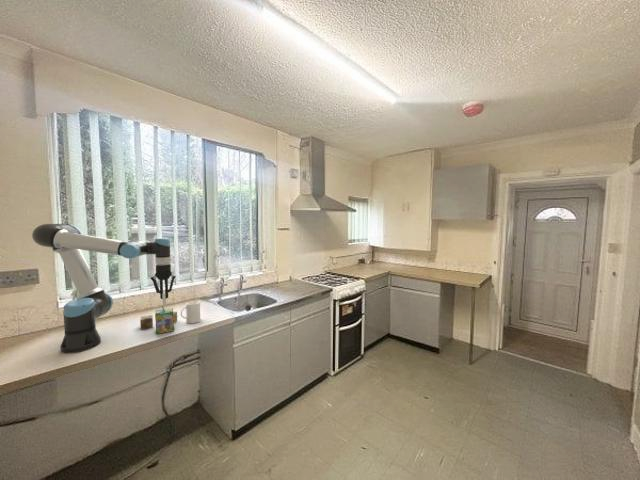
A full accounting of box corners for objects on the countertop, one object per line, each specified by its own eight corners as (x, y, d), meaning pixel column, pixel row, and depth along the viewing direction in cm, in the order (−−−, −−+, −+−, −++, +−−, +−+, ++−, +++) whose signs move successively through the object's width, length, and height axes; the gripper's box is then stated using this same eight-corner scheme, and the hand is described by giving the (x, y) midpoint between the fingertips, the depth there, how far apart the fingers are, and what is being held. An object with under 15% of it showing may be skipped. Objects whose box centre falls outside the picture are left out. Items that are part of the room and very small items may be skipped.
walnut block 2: (162, 324, 162) (162, 314, 162) (167, 321, 168) (167, 311, 168) (173, 324, 163) (172, 314, 162) (177, 320, 169) (176, 311, 168)
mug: (182, 326, 160) (182, 306, 159) (178, 322, 166) (178, 303, 165) (202, 321, 168) (202, 302, 167) (198, 317, 174) (197, 300, 173)
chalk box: (174, 331, 152) (173, 306, 151) (155, 334, 148) (154, 308, 147) (173, 325, 160) (173, 302, 159) (156, 328, 155) (155, 304, 155)
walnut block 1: (140, 329, 154) (140, 319, 153) (141, 326, 159) (140, 316, 159) (152, 327, 157) (152, 317, 157) (152, 324, 162) (152, 314, 162)
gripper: (148, 265, 145) (150, 307, 147) (175, 264, 150) (176, 304, 152) (151, 263, 152) (153, 303, 154) (176, 262, 157) (177, 301, 159)
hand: (164, 303), depth 153 cm, fingers closed
